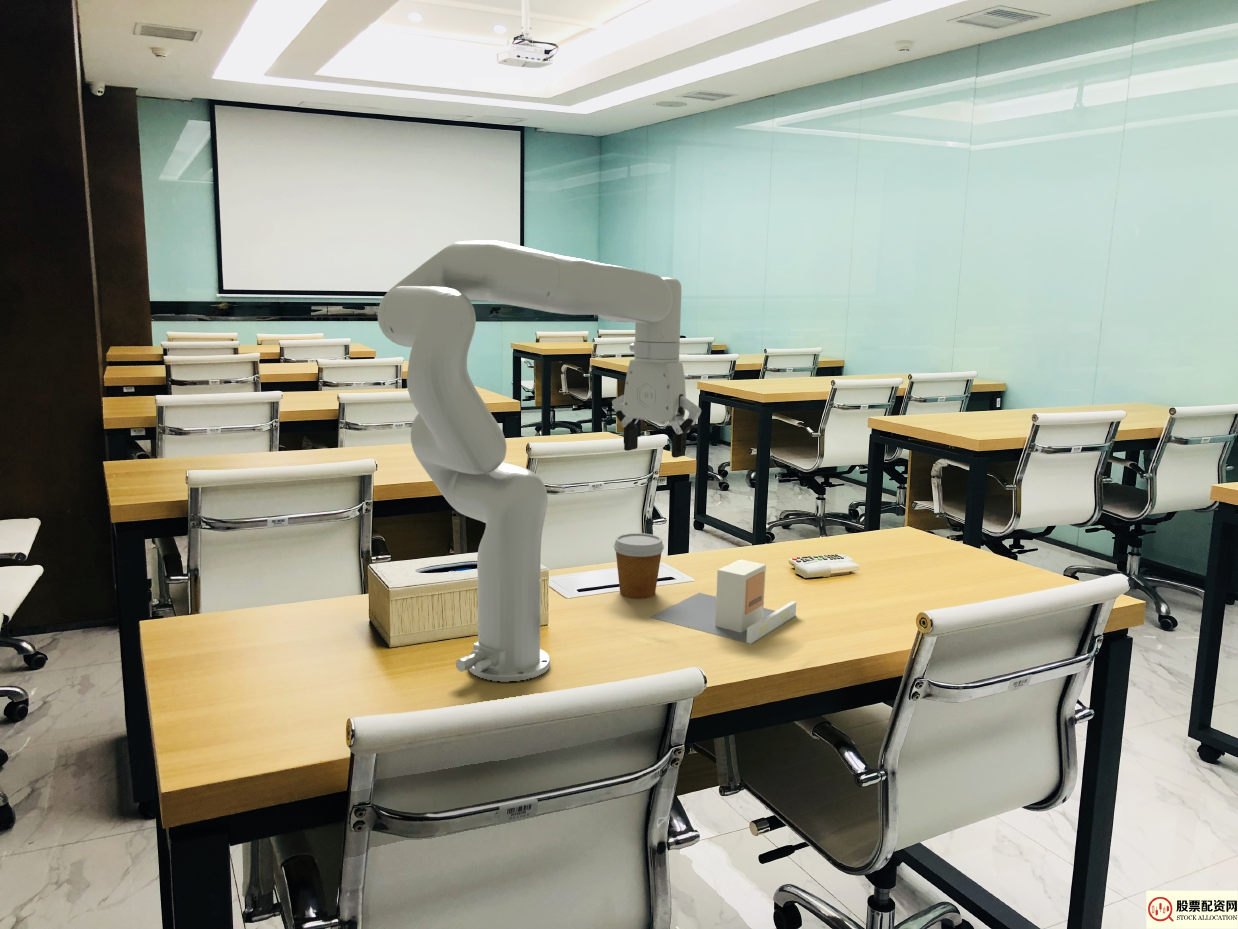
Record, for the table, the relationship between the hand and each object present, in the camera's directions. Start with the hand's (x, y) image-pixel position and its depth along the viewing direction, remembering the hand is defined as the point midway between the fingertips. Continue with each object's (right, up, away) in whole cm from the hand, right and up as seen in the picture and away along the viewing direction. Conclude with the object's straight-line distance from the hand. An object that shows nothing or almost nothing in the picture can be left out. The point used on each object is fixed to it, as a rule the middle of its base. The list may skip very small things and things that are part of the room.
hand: (654, 452), depth 158 cm
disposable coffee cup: (-3, -28, +17) cm, 33 cm away
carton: (+15, -29, +2) cm, 33 cm away
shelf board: (+12, -30, +5) cm, 33 cm away
